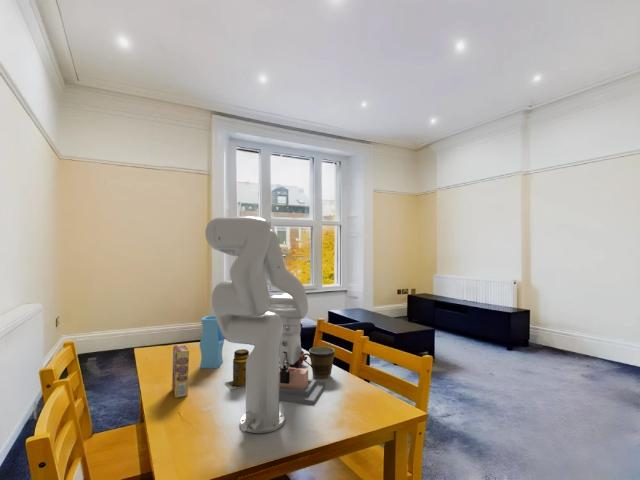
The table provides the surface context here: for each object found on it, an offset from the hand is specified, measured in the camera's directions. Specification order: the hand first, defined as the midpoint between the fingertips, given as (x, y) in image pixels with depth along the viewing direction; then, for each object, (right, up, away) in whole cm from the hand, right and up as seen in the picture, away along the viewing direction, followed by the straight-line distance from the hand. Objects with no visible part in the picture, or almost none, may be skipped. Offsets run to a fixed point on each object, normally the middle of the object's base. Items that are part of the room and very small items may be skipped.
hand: (289, 377), depth 124 cm
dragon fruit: (0, -5, +28) cm, 28 cm away
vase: (-35, -5, +27) cm, 45 cm away
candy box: (-38, -5, -2) cm, 38 cm away
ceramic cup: (+10, -5, +14) cm, 18 cm away
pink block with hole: (0, -3, 0) cm, 3 cm away
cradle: (0, -5, 0) cm, 4 cm away
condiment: (-19, -5, +6) cm, 21 cm away
